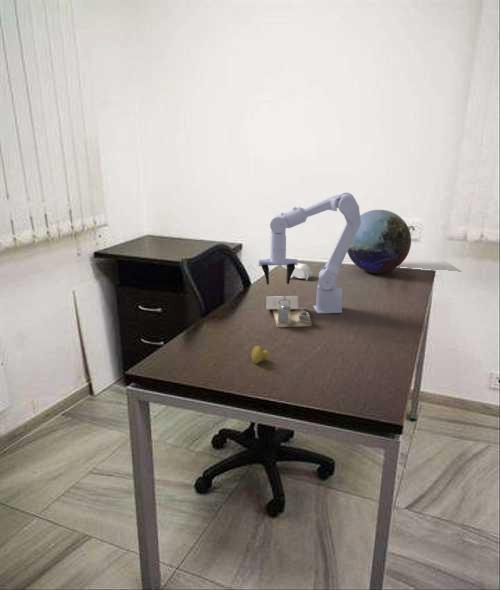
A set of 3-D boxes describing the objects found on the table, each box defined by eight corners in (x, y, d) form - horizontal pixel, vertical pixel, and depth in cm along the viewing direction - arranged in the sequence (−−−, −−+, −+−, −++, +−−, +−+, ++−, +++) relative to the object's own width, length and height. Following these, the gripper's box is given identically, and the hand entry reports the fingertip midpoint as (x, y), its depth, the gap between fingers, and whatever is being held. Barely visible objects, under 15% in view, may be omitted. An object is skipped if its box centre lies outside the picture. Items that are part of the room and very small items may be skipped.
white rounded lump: (309, 282, 220) (282, 267, 224) (316, 267, 216) (288, 252, 220) (302, 287, 213) (275, 272, 217) (309, 272, 209) (281, 256, 213)
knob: (256, 366, 134) (256, 351, 132) (249, 359, 138) (249, 344, 137) (270, 363, 136) (271, 348, 134) (263, 356, 140) (263, 341, 139)
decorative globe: (416, 280, 211) (423, 215, 201) (350, 281, 212) (354, 215, 202) (397, 263, 239) (403, 205, 230) (339, 263, 240) (342, 205, 230)
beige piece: (304, 312, 174) (304, 300, 173) (311, 326, 161) (312, 314, 160) (272, 313, 174) (272, 301, 172) (277, 328, 161) (277, 315, 159)
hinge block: (290, 319, 163) (290, 304, 161) (287, 322, 160) (288, 308, 158) (280, 317, 164) (280, 303, 163) (278, 321, 161) (278, 307, 159)
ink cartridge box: (267, 295, 179) (306, 295, 177) (267, 308, 179) (306, 308, 177) (266, 296, 170) (306, 295, 169) (266, 309, 170) (306, 309, 169)
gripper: (295, 245, 176) (294, 279, 180) (257, 246, 175) (257, 280, 179) (299, 250, 169) (297, 285, 174) (259, 251, 168) (259, 286, 173)
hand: (277, 283), depth 176 cm, fingers open, 7 cm apart
